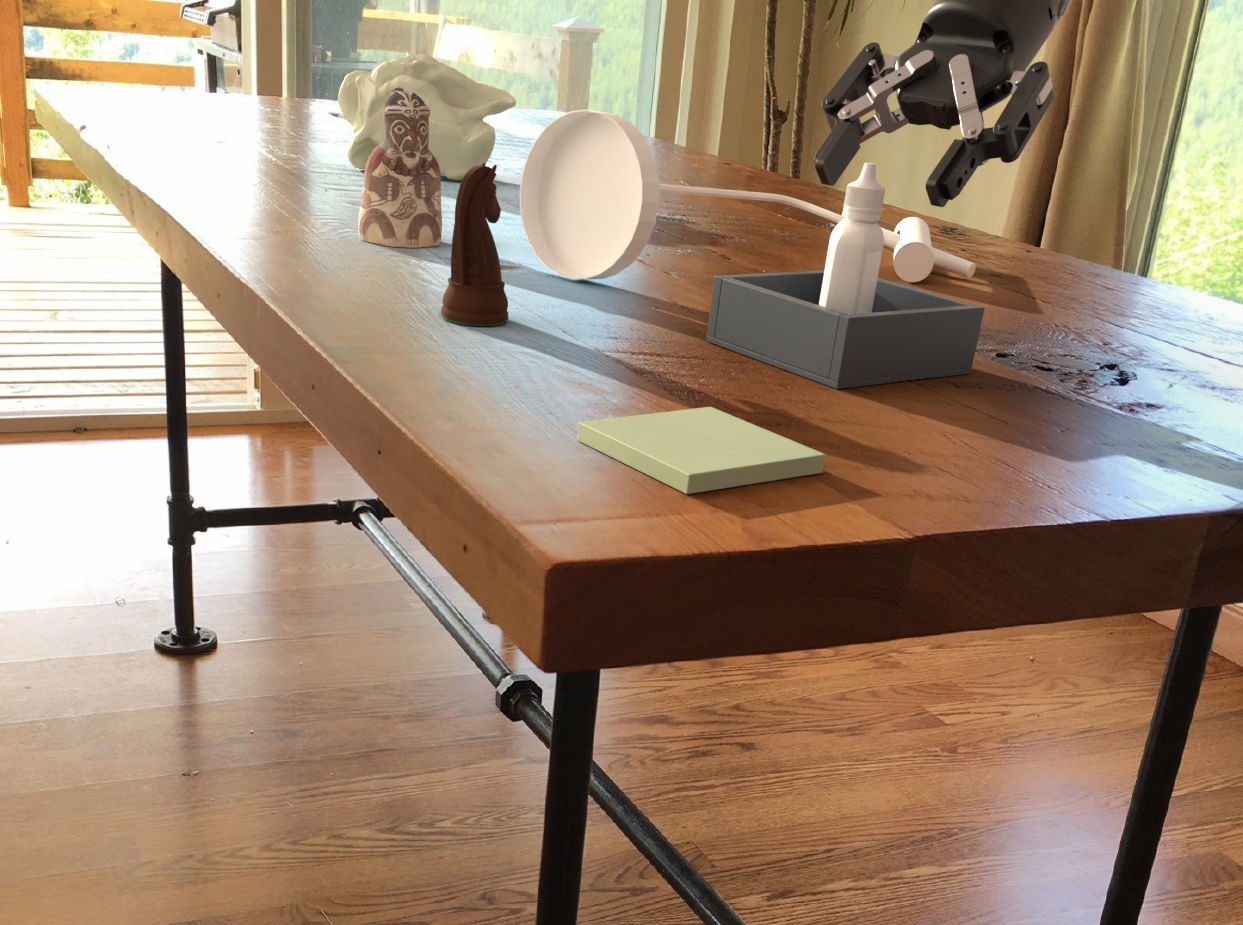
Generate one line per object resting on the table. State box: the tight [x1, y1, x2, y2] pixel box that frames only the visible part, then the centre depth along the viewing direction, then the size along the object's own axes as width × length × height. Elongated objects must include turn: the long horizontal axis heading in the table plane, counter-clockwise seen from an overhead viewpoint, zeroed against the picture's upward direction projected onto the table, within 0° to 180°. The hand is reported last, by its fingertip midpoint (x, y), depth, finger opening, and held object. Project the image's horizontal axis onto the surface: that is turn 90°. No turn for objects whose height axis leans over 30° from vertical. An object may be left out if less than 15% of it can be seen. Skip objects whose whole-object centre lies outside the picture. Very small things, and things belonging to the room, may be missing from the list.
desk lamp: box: [519, 109, 977, 283], centre depth 123 cm, size 12×22×45 cm
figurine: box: [357, 87, 443, 249], centre depth 119 cm, size 7×7×12 cm
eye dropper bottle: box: [819, 162, 886, 314], centre depth 93 cm, size 4×6×12 cm
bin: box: [705, 269, 986, 390], centre depth 95 cm, size 13×13×4 cm
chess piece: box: [440, 163, 509, 327], centre depth 95 cm, size 5×5×10 cm
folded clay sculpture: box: [337, 53, 517, 181], centre depth 159 cm, size 18×13×16 cm
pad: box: [576, 406, 826, 495], centre depth 72 cm, size 9×9×1 cm
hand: (876, 186), depth 92 cm, fingers open, 8 cm apart
